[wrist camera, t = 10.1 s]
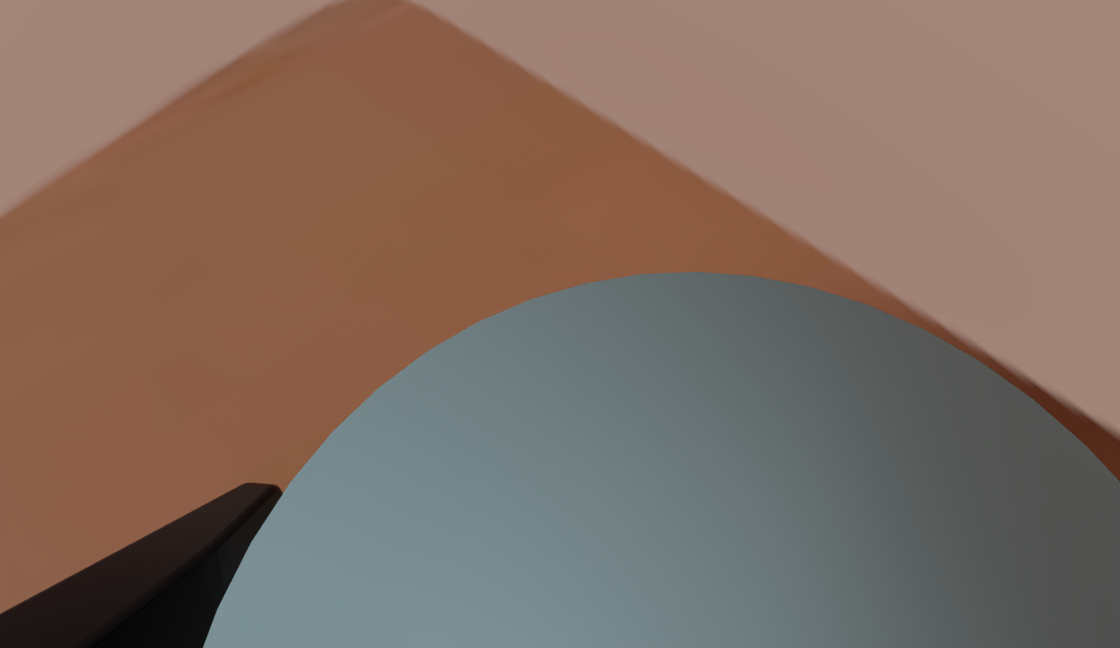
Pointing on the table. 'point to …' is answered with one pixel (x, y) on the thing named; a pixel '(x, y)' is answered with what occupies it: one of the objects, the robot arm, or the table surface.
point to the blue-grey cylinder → (689, 490)
